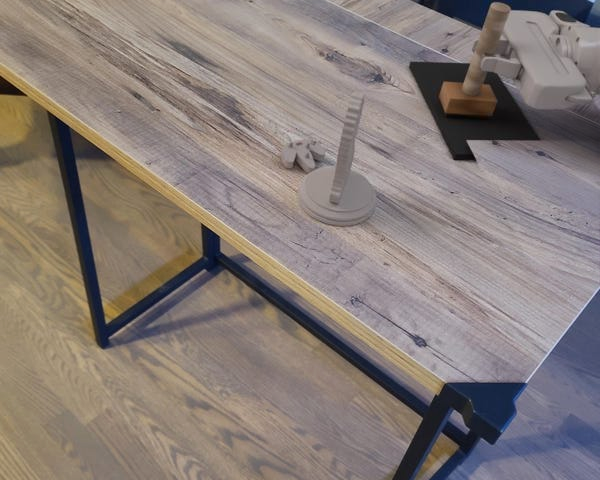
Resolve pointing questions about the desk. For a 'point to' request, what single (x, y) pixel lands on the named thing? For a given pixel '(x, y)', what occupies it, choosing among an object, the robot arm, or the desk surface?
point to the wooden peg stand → (476, 73)
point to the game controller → (302, 153)
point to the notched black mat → (457, 130)
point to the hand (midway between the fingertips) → (477, 54)
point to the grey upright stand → (340, 181)
